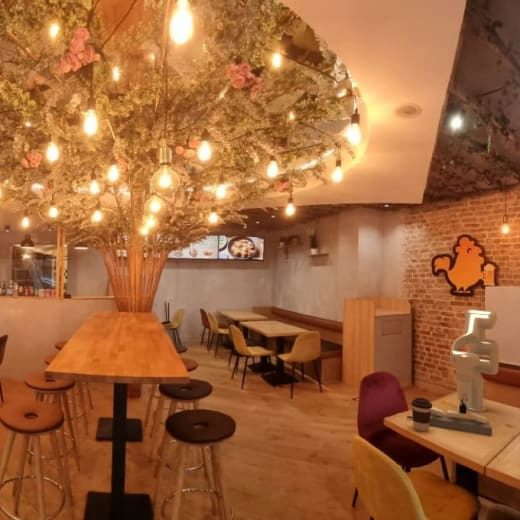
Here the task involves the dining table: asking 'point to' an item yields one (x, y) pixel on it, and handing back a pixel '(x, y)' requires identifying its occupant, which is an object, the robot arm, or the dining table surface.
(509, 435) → the dining table surface
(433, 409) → the rocker
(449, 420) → the power strip
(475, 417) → the rocker
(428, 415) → the coffee cup
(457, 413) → the rocker middle
